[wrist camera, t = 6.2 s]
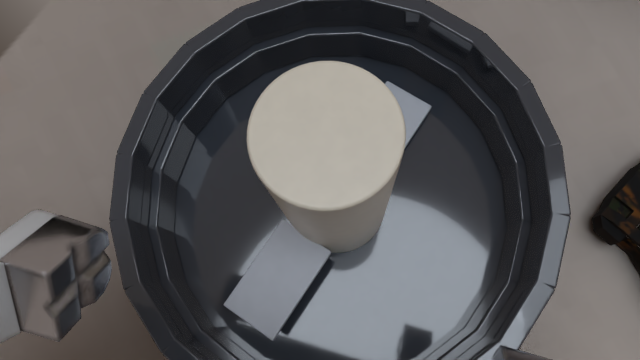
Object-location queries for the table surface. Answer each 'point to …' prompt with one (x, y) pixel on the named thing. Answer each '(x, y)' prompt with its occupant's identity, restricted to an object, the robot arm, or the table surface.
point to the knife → (622, 216)
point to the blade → (320, 176)
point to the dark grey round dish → (401, 213)
